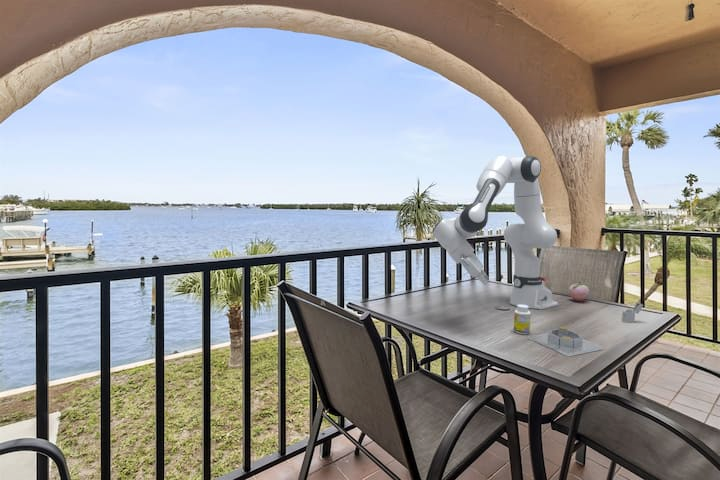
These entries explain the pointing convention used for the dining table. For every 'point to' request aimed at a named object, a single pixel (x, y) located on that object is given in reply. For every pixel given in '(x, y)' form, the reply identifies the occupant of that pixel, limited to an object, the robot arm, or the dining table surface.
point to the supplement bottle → (522, 319)
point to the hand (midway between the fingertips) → (486, 281)
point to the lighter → (631, 314)
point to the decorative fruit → (578, 291)
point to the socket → (565, 342)
